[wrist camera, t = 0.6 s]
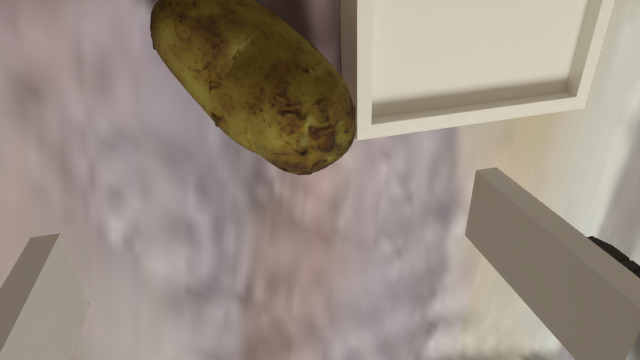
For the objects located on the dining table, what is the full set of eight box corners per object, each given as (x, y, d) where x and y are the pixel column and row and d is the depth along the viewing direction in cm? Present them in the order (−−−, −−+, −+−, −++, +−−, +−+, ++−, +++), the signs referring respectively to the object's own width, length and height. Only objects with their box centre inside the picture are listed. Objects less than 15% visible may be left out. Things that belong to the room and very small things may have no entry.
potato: (251, -70, 25) (269, -72, 18) (350, 104, 32) (389, 149, 25) (136, 10, 25) (111, 36, 19) (257, 163, 32) (271, 223, 26)
